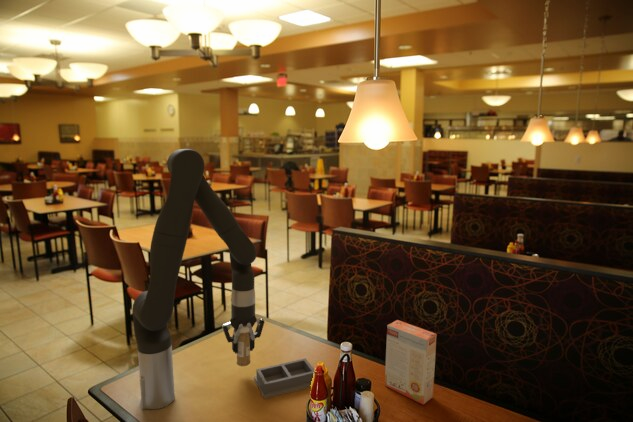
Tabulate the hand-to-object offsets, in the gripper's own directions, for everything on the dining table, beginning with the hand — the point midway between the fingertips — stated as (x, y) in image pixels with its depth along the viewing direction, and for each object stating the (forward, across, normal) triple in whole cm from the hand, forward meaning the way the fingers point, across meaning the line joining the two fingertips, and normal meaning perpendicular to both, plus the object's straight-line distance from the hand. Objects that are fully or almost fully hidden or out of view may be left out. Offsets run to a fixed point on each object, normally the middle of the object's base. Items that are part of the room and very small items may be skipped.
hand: (243, 350), depth 136 cm
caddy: (+8, +12, -9) cm, 17 cm away
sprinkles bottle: (+5, 0, 0) cm, 5 cm away
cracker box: (+8, +45, -28) cm, 54 cm away
